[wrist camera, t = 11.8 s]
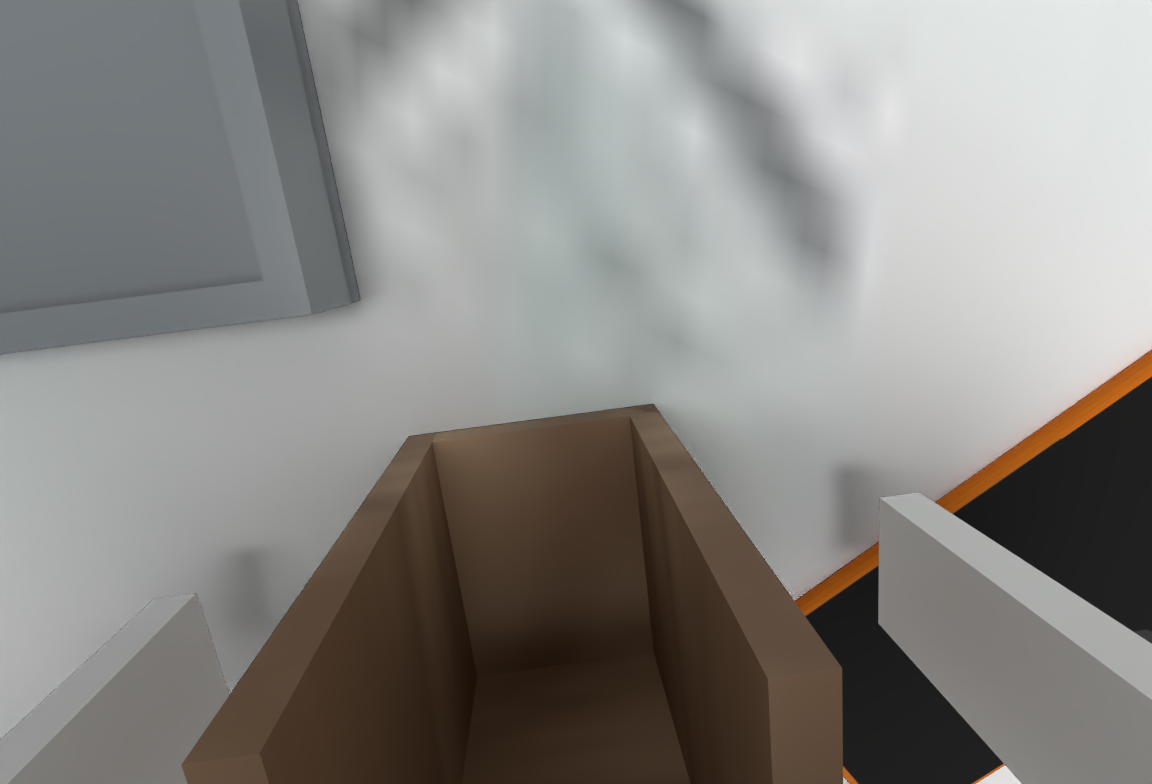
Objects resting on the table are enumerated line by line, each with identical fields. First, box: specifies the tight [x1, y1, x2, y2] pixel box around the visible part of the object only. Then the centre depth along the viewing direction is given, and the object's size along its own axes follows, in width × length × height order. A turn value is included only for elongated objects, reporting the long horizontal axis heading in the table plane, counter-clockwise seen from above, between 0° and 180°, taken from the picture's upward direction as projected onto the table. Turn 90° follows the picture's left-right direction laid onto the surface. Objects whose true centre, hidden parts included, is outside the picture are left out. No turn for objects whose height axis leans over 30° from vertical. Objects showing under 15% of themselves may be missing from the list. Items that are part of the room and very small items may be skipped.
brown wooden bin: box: [181, 404, 843, 784], centre depth 9 cm, size 5×6×8 cm
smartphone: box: [795, 350, 1152, 784], centre depth 14 cm, size 8×17×1 cm, turn 129°
